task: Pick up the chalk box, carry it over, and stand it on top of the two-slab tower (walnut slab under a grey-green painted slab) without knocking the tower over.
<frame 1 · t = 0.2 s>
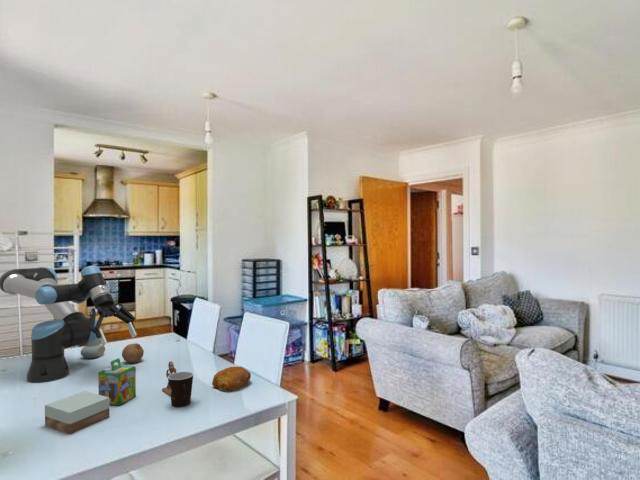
hand: (120, 340, 171), 16 cm above the table, tool tilted 35°, fingers open, 13 cm apart
walnut base slab: (78, 422, 130), on the table
brown scrollwork ornament: (171, 393, 154), on the table
onion: (132, 362, 192), on the table
chalk box: (117, 400, 147), on the table
grey rounded lump: (93, 357, 202), on the table
potato: (231, 385, 162), on the table
coffee mug: (179, 405, 142), on the table
grey-green top slab: (77, 411, 130), point 3 cm above the table
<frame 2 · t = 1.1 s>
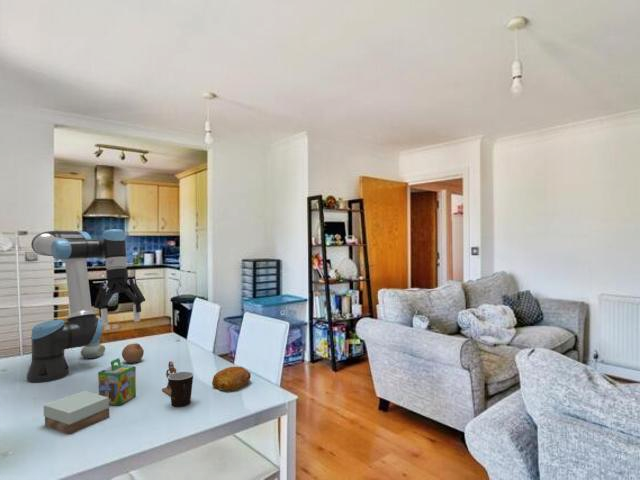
hand: (121, 323, 155), 26 cm above the table, tool pointing down, fingers open, 13 cm apart
walnut base slab: (77, 423, 130), on the table, touching grey-green top slab
grey-green top slab: (77, 412, 130), point 3 cm above the table, touching walnut base slab
everything else where it was.
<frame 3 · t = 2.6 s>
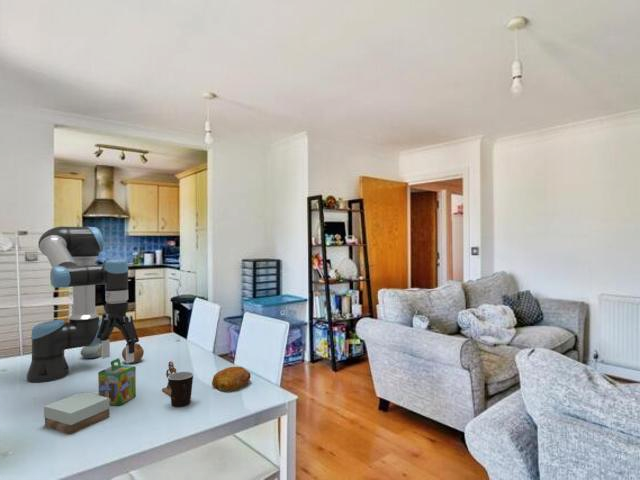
hand: (117, 360, 147), 15 cm above the table, tool pointing down, fingers open, 13 cm apart
nothing on the table moved.
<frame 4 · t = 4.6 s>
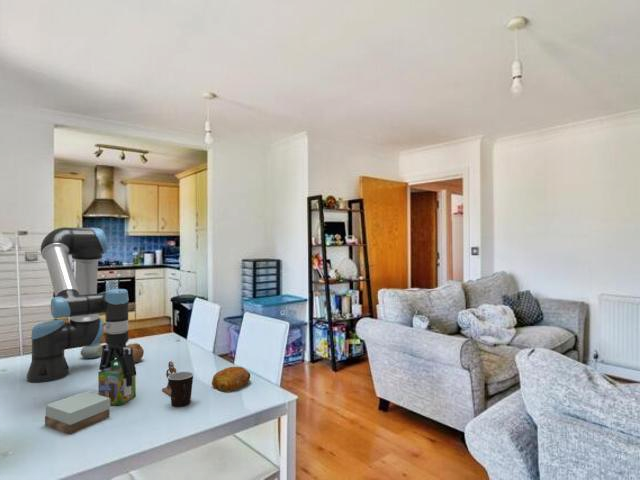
hand: (117, 392, 147), 3 cm above the table, tool pointing down, fingers closed on chalk box, 10 cm apart
chalk box: (117, 400, 147), on the table, touching gripper
everything else where it was.
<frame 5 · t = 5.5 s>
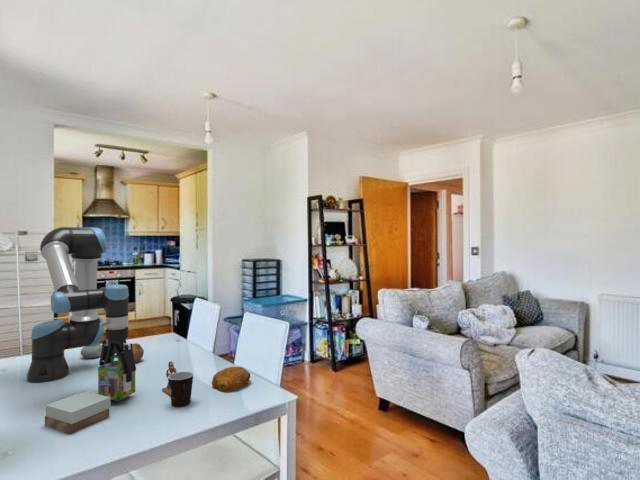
hand: (117, 387, 147), 4 cm above the table, tool pointing down, fingers closed on chalk box, 10 cm apart
walnut base slab: (77, 423, 130), on the table
chalk box: (117, 396, 147), point 1 cm above the table, touching gripper
grey-green top slab: (78, 412, 130), point 3 cm above the table
everything else where it was.
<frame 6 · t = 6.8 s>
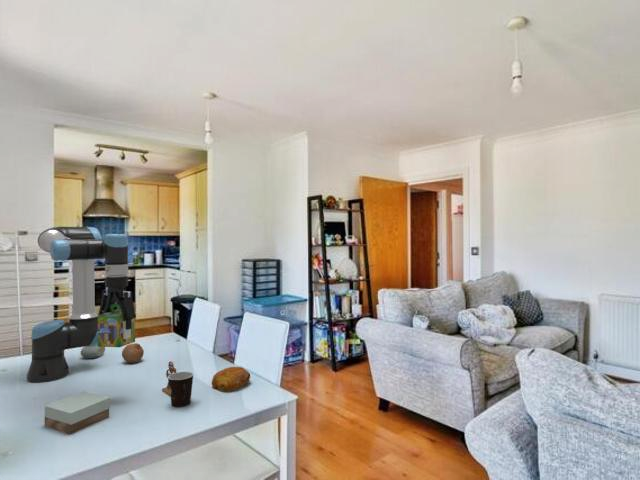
hand: (117, 336, 147), 23 cm above the table, tool pointing down, fingers closed on chalk box, 10 cm apart
walnut base slab: (77, 423, 130), on the table, touching grey-green top slab
chalk box: (117, 344, 147), point 20 cm above the table, touching gripper
grey-green top slab: (78, 412, 130), point 3 cm above the table, touching walnut base slab
everything else where it was.
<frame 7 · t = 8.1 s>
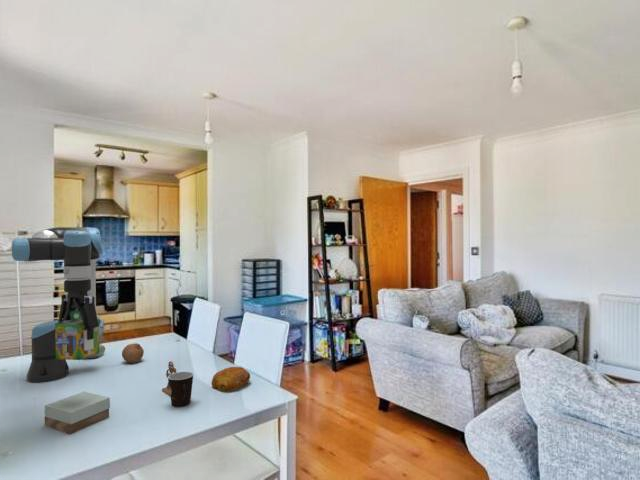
hand: (78, 347, 130), 24 cm above the table, tool pointing down, fingers closed on chalk box, 10 cm apart
chalk box: (78, 356, 130), point 21 cm above the table, touching gripper
everything else where it was.
when the fingers open (11 cm above the table, at t = 11.4 s): chalk box drops 2 cm, resting on grey-green top slab.
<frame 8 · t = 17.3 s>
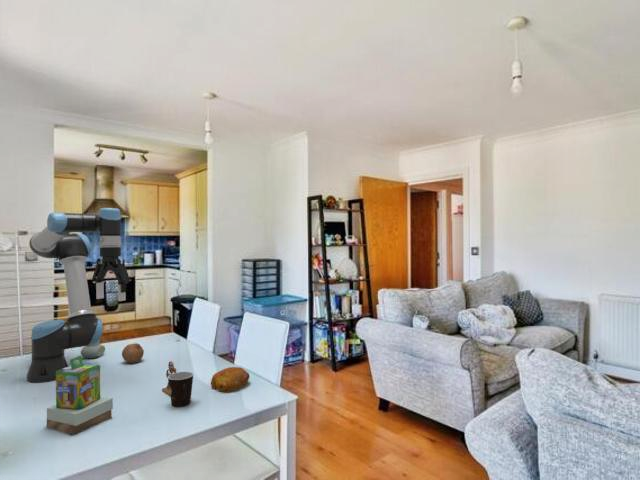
hand: (110, 299, 161), 35 cm above the table, tool pointing down, fingers open, 13 cm apart
walnut base slab: (79, 424, 129), on the table, touching grey-green top slab
chalk box: (78, 403, 129), point 6 cm above the table, touching grey-green top slab
grey-green top slab: (80, 413, 129), point 3 cm above the table, touching chalk box, walnut base slab
everything else where it was.
at the end: chalk box inside the target area on the grey-green top slab (0.6 cm from its centre), point 3.3 cm above the grey-green top slab's base; grey-green top slab 0.4 cm off-centre on the walnut base slab, point 3.5 cm above the walnut base slab's base; walnut base slab moved 1.4 cm from its start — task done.
